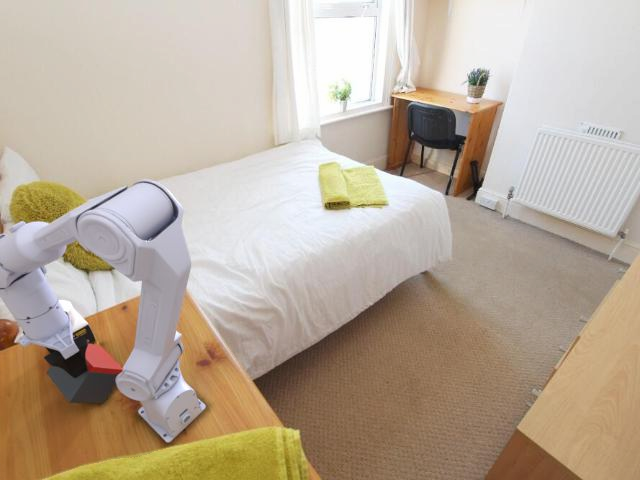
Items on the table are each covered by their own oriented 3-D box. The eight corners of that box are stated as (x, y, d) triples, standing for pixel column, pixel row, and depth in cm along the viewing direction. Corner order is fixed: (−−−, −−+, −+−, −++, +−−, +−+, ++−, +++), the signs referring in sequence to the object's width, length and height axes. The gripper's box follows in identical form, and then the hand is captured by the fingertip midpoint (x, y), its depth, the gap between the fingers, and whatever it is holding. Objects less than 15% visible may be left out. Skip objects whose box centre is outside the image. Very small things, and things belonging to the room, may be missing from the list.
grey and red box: (104, 403, 63) (125, 369, 64) (69, 403, 57) (93, 366, 59) (80, 375, 68) (100, 345, 69) (45, 372, 62) (68, 340, 64)
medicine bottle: (64, 367, 69) (37, 326, 63) (50, 350, 73) (24, 310, 66) (100, 345, 74) (79, 305, 67) (86, 330, 78) (64, 291, 71)
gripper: (-11, 302, 54) (28, 358, 61) (23, 344, 47) (63, 401, 54) (39, 279, 59) (71, 333, 66) (78, 314, 51) (108, 370, 59)
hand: (70, 362), depth 60 cm, fingers open, 7 cm apart
